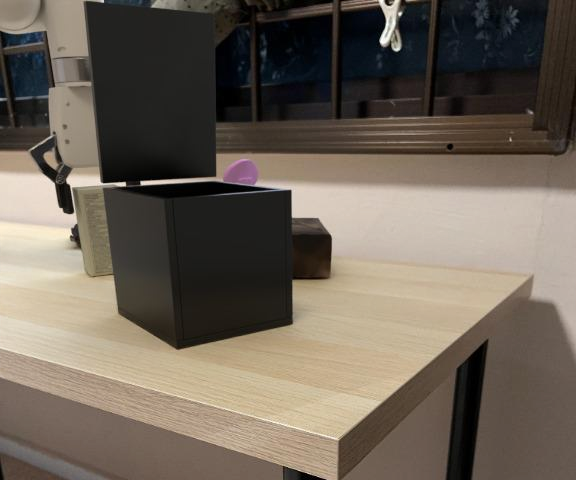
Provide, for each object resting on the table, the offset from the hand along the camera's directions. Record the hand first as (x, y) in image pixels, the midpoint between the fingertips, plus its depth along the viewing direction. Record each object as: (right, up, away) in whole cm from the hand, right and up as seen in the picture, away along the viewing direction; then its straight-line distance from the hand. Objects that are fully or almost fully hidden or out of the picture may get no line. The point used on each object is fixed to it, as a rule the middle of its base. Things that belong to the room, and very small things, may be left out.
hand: (102, 209), depth 87 cm
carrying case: (-9, +2, +28) cm, 30 cm away
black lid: (+13, +5, -23) cm, 27 cm away
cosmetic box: (0, -8, +3) cm, 9 cm away
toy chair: (+18, -3, +15) cm, 23 cm away
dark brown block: (+28, -7, +6) cm, 30 cm away
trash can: (+17, -18, -19) cm, 31 cm away
